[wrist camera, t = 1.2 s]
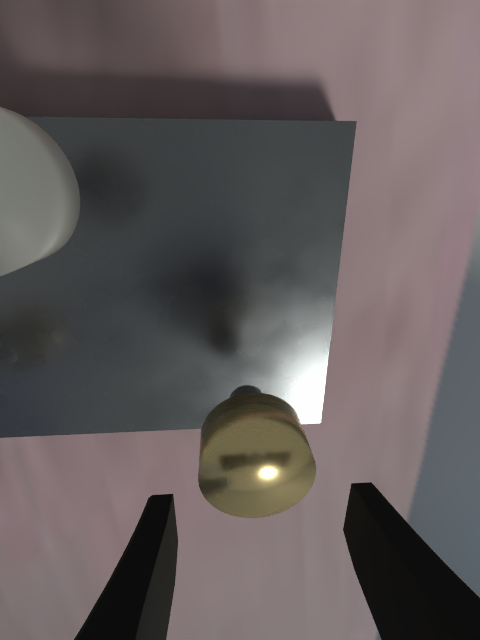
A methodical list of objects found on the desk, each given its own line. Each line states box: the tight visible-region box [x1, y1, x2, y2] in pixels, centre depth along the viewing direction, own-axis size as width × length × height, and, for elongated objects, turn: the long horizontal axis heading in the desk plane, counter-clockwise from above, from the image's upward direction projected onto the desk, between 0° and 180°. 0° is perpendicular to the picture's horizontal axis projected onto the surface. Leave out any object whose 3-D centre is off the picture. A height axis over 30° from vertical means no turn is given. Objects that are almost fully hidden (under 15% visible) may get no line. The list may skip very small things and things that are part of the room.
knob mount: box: [0, 116, 357, 438], centre depth 16 cm, size 23×15×2 cm, turn 90°
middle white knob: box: [0, 107, 80, 276], centre depth 9 cm, size 4×4×4 cm
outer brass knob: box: [198, 385, 316, 518], centre depth 13 cm, size 4×4×4 cm
